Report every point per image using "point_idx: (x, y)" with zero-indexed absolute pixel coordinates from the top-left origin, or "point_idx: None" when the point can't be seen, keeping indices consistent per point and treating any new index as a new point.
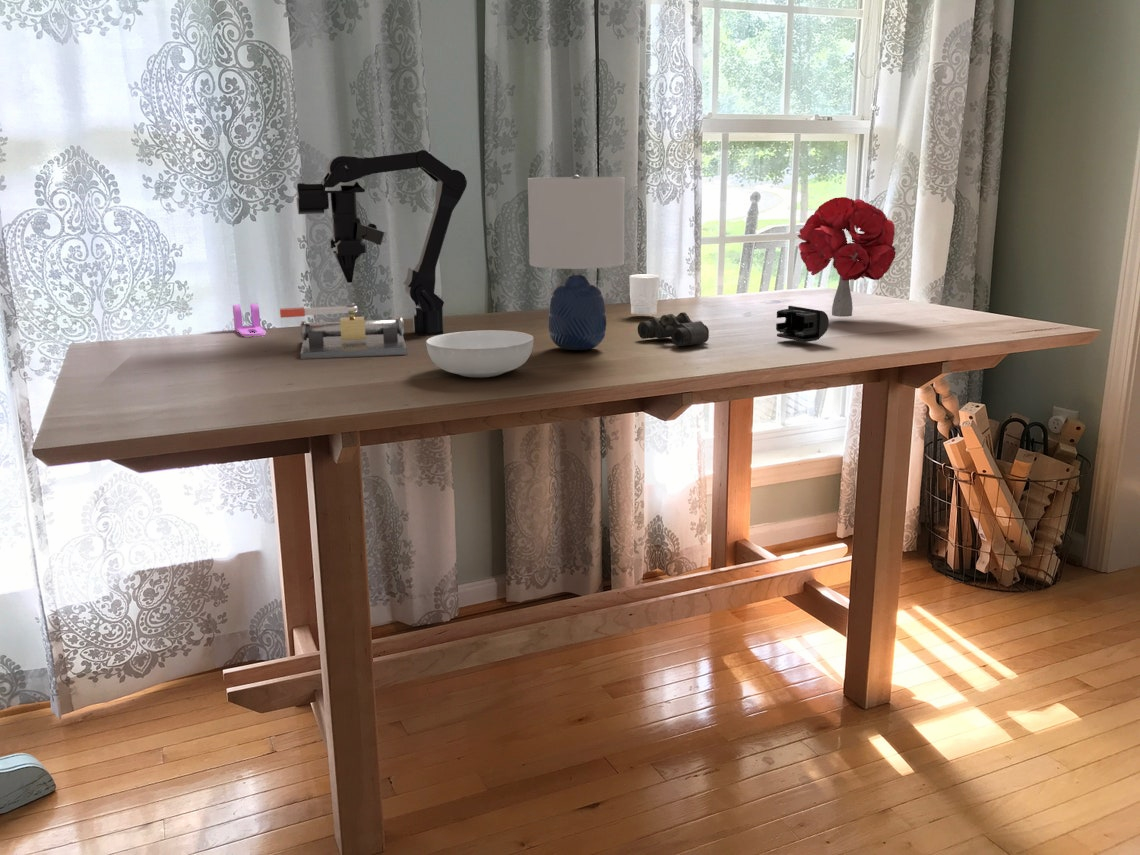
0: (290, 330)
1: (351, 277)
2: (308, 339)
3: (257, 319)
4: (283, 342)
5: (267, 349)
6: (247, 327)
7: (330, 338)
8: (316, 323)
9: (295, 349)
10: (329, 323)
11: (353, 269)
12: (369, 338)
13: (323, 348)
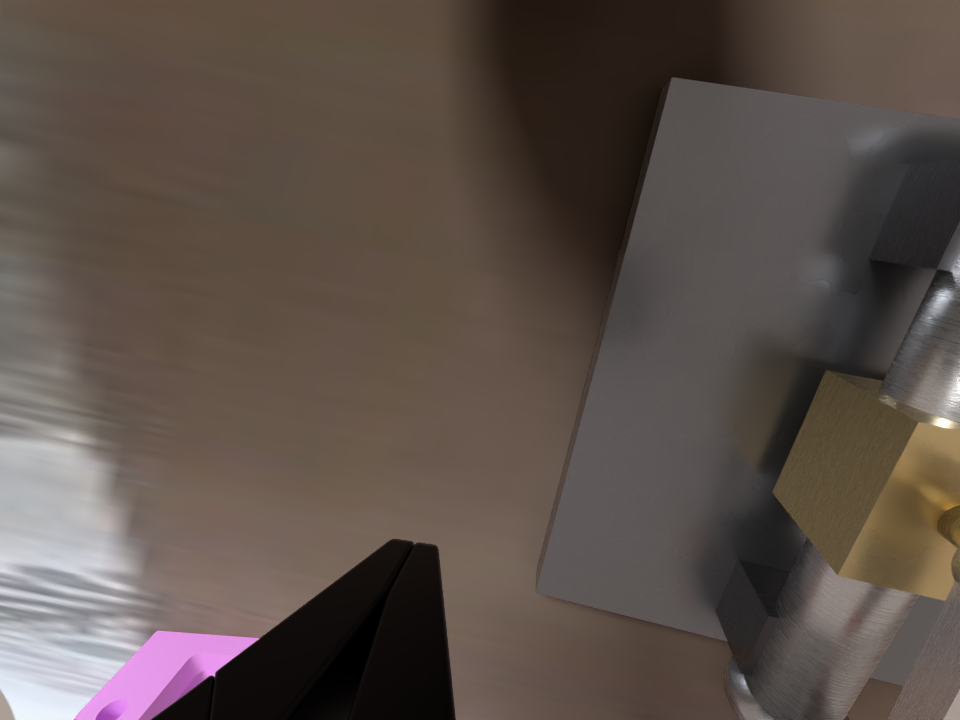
0: (199, 544)
1: (443, 601)
2: (624, 596)
3: (171, 690)
4: (474, 627)
5: (604, 703)
6: (192, 688)
7: (656, 511)
8: (848, 695)
9: (667, 630)
10: (889, 635)
11: (452, 709)
12: (791, 333)
13: (936, 604)
